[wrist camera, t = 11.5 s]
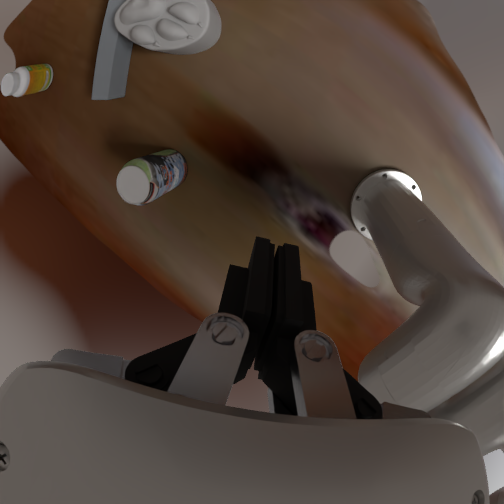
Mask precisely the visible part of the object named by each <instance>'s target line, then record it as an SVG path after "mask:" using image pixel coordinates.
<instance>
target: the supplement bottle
mask: <svg viewBox="0 0 504 504" xmlns="http://www.w3.org/2000/svg"><path fill="white" fill-rule="evenodd" d="M52 78H53V70H52V67H51V66H50V65H49V64H38V65H30V66H23V67H19V68H17V69H16V70H15V71H14V72H11V73H7V74H6V75H5V76H4V77H3V79H2V82H1V92H2V94H3V95H4V96H9V95H13V96H15V97H19V96H23V95H27V94H31V93H36V92H40V91H44V90H46V89H47V88H48V87H49V86H50V84H51V82H52Z"/></svg>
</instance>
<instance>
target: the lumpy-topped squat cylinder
mask: <svg viewBox="0 0 504 504" xmlns="http://www.w3.org/2000/svg"><path fill="white" fill-rule="evenodd" d="M114 22H115V26H116V28H117V30H118V31H119V32H120V33H121V34H122V35H124V36H125V37H126V38H128V39H129V40H131V41H132V42H134V43H136V44H138V45H140V46H142V47H144V48H147V49H150V50H153V51H159V52H165V53H170V54H182V55H184V54H195V53H199V52H202V51H204V50H207V49H209V48H210V47H212V46H213V45H214V44H215V43H216V42H217V40H218V39H219V37H220V33H221V19H220V16H219V13H218V11H217V9H216V7H215V5H214V4H213V3H212V1H211V0H126V1H125V2H124V3H123V4H122V5H121V6H120V8H119V9H118V10H117V12H116V14H115V18H114Z"/></svg>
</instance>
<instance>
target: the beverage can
mask: <svg viewBox="0 0 504 504" xmlns="http://www.w3.org/2000/svg"><path fill="white" fill-rule="evenodd" d="M187 172H188V167H187V163H186V160H185V158H184V157H183V156H182V155H181V154H180V153H179V152H177V151H175V150H171V149H168V150H163V151H160V152H156V153H153V154H150V155H146V156H143V157H140V158H137V159H133V160H131V161H129V162H127V163H126V164H125V165H124V166H123V168H122V169H121V171H120V172H119V174H118V177H117V190H118V192H119V194H120V196H121V197H122V199H123V200H125V201H126V202H128V203H130V204H135V205H146V204H148V203H150V202H152V201H153V200H155V199H157V198H158V197H160V196H162V195H163V194H165V193H167V192H168V191H170V190H172V189H174V188H175V187H177V186H179V185H180V184H182V182H183V181H184V180H185V178H186V176H187Z"/></svg>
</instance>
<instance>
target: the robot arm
mask: <svg viewBox="0 0 504 504" xmlns="http://www.w3.org/2000/svg"><path fill="white" fill-rule="evenodd" d="M383 174H384V175H383ZM382 175H383V176H382ZM357 196H359V197H357ZM350 212H351V217H352V220H353V223H354V225H355V226H356V228H357V230H358V231H359V232H360V233H361V234H362V235H363V236H365V237H366V238H368V239H370V240H373V241H374V243H375V246H376V248H377V250H378V252H379V254H380V256H381V258H382V260H383V262H384V265H385V267H386V269H387V271H388V273H389V276H390V278H391V280H392V282H393V284H394V287H395V288H396V290H397V292H398V293H399V294H400V295H401V296H402V297H403V298H404V299H405V300H407V301H409V302H410V303H413V304H415V305H418V306H420V307H419V308H418V309H417V310H416V311H415V312H414V313H413V314H412V315H411V316H410V317H409V319H408V320H406V321H405V322H404V323H403V324H402V325H401V326H400V327H398V328H397V329H396V330H395V331H394V332H393V333H391V334H390V335H389V336H388V337H387V338H385V339H384V340H383V341H382V342H381V343H380V344H378V345H377V346H376V347H375V348H374V349H373V350H372V351H370V352H369V353H368V355H367V356H366V357H365V358H364V360H363V361H362V363H361V365H360V368H359V372H358V381H359V382H357V381H356V380H355V379H354V378H353V377H352V376H351V375H350V374H349V373H348V372H346V371H345V370H344V369H343V368H342V365H341V361H340V358H339V354H338V351H337V348H336V346H335V344H334V342H333V341H332V340H331V338H330V337H328V336H327V335H326V334H324V333H322V332H319V331H316V320H315V310H314V301H313V291H312V284H311V283H310V282H307V281H302V280H301V270H300V257H299V247H298V246H295V245H291V244H287V243H284V245H283V246H278V248H277V251H276V254H275V257H274V249H275V244H271V243H270V239H265V238H261V237H257V236H256V239H255V243H254V247H253V251H252V254H251V258H250V262H249V266H248V268H244V267H239V266H235V265H230V266H229V270H228V274H227V278H226V282H225V286H224V290H223V294H222V298H221V302H220V306H219V310H218V313H215V314H211V315H210V316H208V317H207V318H206V319H205V320H204V321H203V322H202V324H201V326H200V328H199V330H198V332H197V333H196V334H194V335H191V336H189V337H186V338H184V339H182V340H179V341H177V342H174V343H172V344H169V345H167V346H165V347H162V348H160V349H157V350H155V351H152V352H150V353H147V354H144V355H142V356H139V357H137V358H135V359H134V360H132V361H130V360H123V357H120V356H113V355H105V354H98V353H91V352H85V351H79V350H73V349H64V350H61V351H59V352H57V353H56V354H55V355H54V356H53V358H52V360H51V361H37V362H30V363H26V364H23V365H21V366H19V367H18V368H16V369H15V370H14V371H13V372H12V373H11V374H10V375H9V376H8V377H7V379H6V380H5V381H4V383H3V384H2V386H1V387H0V504H504V487H502V488H500V489H499V490H497V491H495V492H494V493H492V494H491V495H490V496H489V489H488V481H487V475H486V469H485V464H484V460H483V456H484V455H486V454H488V453H490V452H492V451H494V450H497V449H501V450H502V451H503V452H504V287H503V286H502V285H501V284H500V283H499V282H498V281H497V280H496V279H495V278H494V277H493V276H492V275H490V274H489V273H488V272H487V271H486V270H485V269H484V268H483V267H482V266H481V265H480V264H479V263H478V262H477V261H476V260H475V259H474V258H473V257H472V256H471V255H470V254H469V253H468V252H467V251H466V250H465V248H464V247H463V246H462V245H461V244H460V243H459V242H458V241H457V239H456V238H455V237H454V236H453V235H452V233H451V232H450V231H449V230H448V229H447V228H446V227H445V226H444V225H443V223H442V222H441V221H440V220H439V219H438V218H437V217H436V216H435V215H434V214H433V212H432V211H431V210H430V209H429V208H428V207H427V206H426V205H425V204H424V203H423V202H422V195H421V191H420V189H419V187H418V185H417V184H416V182H415V181H414V180H413V179H412V178H411V177H410V176H409V175H407V174H406V173H404V172H402V171H400V170H396V169H382V170H378V171H375V172H373V173H371V174H370V175H368V176H367V177H365V178H364V179H363V180H362V181H361V182H360V183H359V185H358V186H357V188H356V189H355V191H354V193H353V196H352V199H351V204H350ZM361 227H362V228H361ZM254 358H255V363H254V370H258V371H259V374H258V379H262V380H263V382H264V383H265V384H266V385H267V386H268V387H269V388H268V402H269V413H267V412H259V411H254V410H247V409H241V408H235V407H230V406H225V405H226V402H227V399H228V396H229V394H230V391H231V388H232V385H233V384H235V383H237V382H238V381H240V380H242V379H244V378H245V376H246V373H247V370H248V369H250V367H251V365H252V362H253V360H254Z"/></svg>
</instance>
